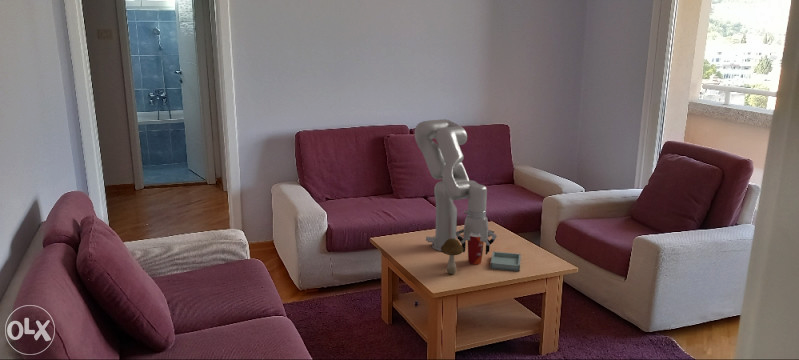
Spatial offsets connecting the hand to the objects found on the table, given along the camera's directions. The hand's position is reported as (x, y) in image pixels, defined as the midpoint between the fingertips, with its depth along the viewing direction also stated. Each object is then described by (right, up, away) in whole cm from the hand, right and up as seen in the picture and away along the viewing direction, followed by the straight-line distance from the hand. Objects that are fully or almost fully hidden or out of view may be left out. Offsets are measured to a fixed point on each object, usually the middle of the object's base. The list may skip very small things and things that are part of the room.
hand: (475, 252), depth 250 cm
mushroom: (-11, -7, -11) cm, 18 cm away
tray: (+13, -5, -1) cm, 14 cm away
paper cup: (0, -4, +1) cm, 5 cm away
